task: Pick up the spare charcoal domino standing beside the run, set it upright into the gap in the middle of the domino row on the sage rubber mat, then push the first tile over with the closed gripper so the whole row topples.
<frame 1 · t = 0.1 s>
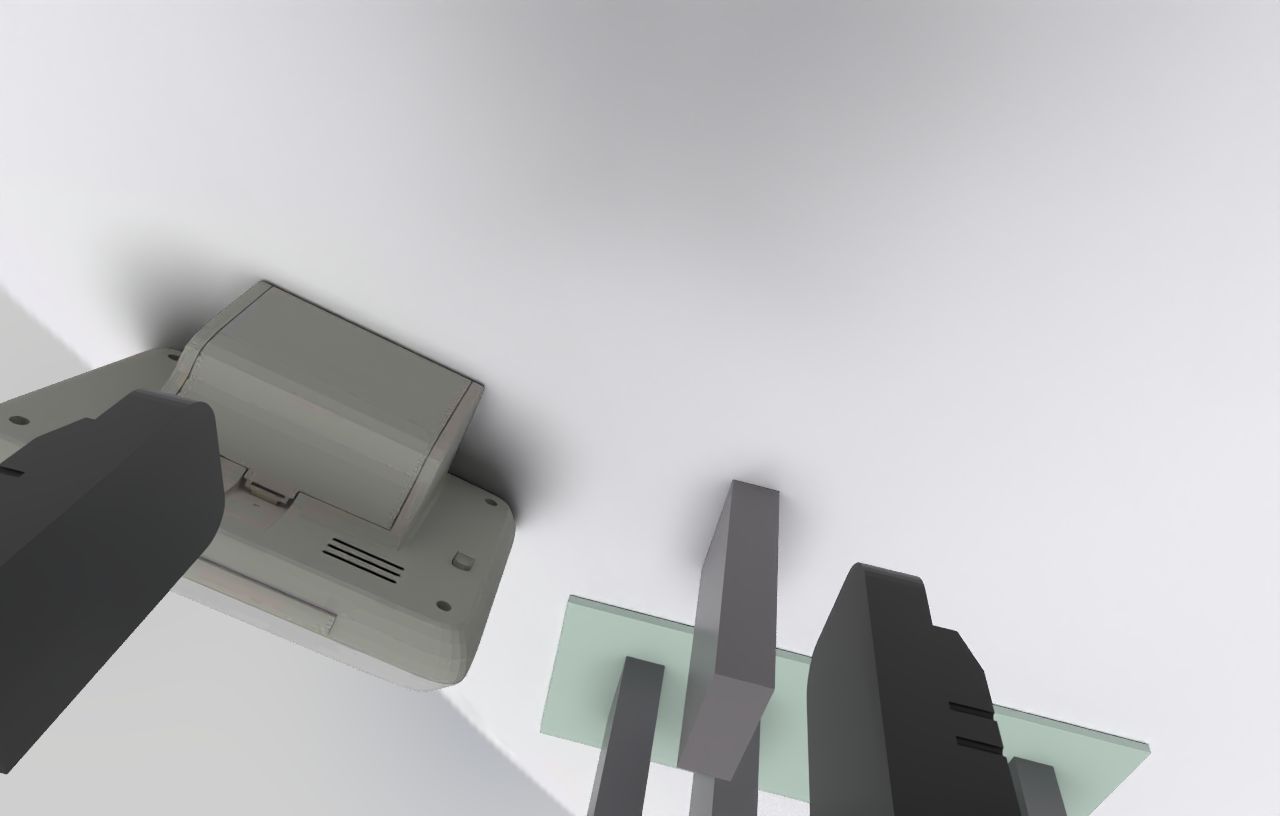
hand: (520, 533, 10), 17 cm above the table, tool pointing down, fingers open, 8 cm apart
digital clock: (353, 408, 32), on the table
mat: (821, 734, 39), on the table
domino 1: (635, 693, 39), resting on mat
domino 2: (728, 717, 38), resting on mat
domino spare: (738, 532, 33), on the table
domino 5: (1008, 790, 38), resting on mat
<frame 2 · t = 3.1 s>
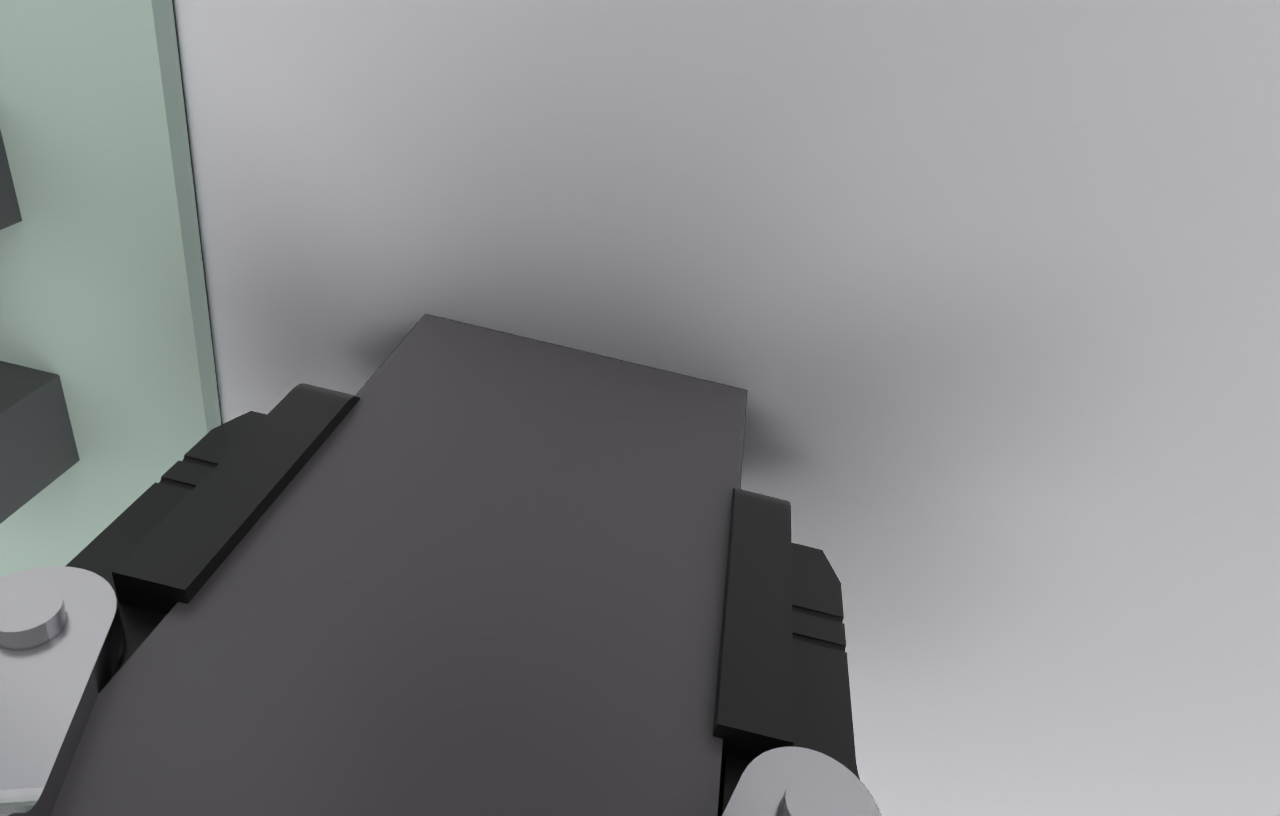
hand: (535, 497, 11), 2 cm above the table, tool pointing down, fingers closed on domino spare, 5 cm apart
mat: (10, 557, 17), on the table
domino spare: (577, 401, 13), on the table, touching gripper
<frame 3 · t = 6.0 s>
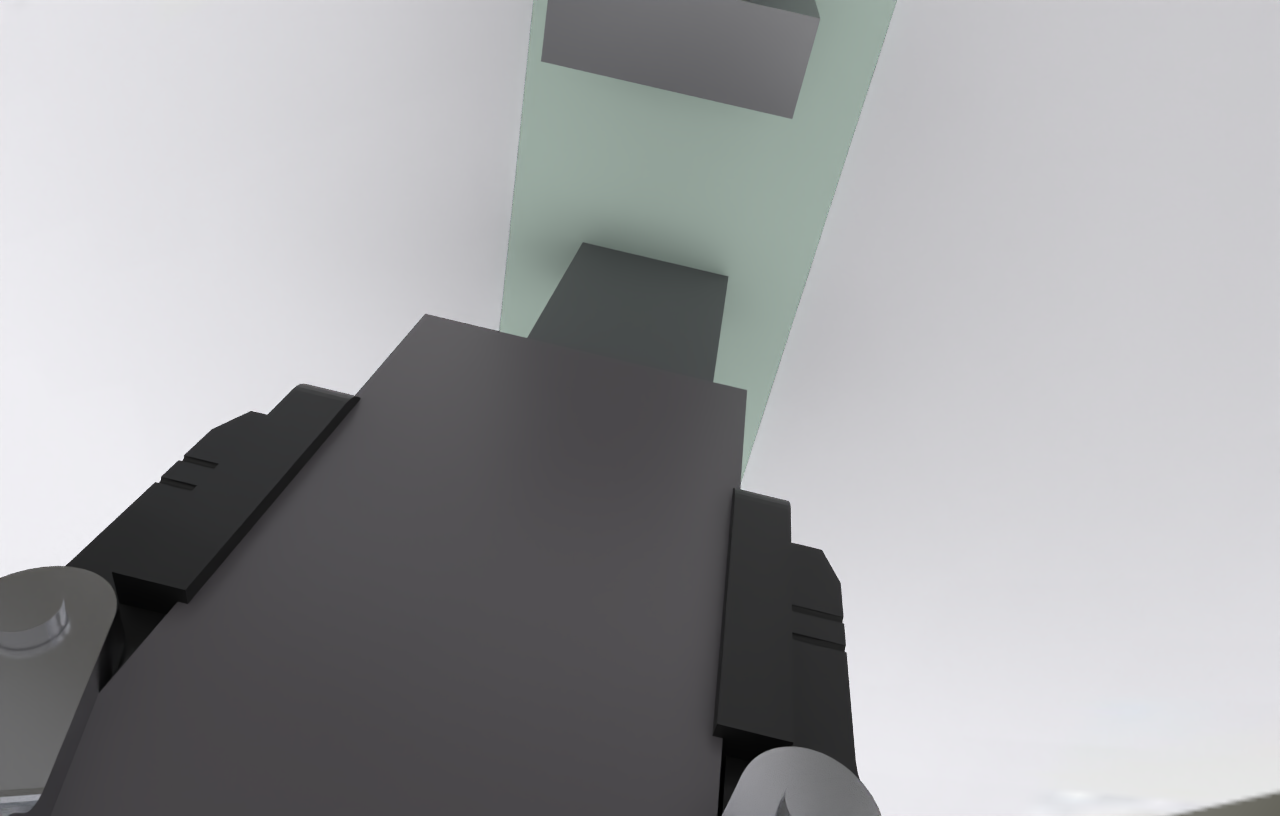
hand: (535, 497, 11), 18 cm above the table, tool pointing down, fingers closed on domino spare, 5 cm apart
domino 4: (650, 283, 28), resting on mat
mat: (679, 149, 26), on the table
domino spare: (577, 401, 13), point 15 cm above the table, touching gripper
when the fingers open (3 cm above the table, at t = 8.9 s): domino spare stays where it is, resting on mat.
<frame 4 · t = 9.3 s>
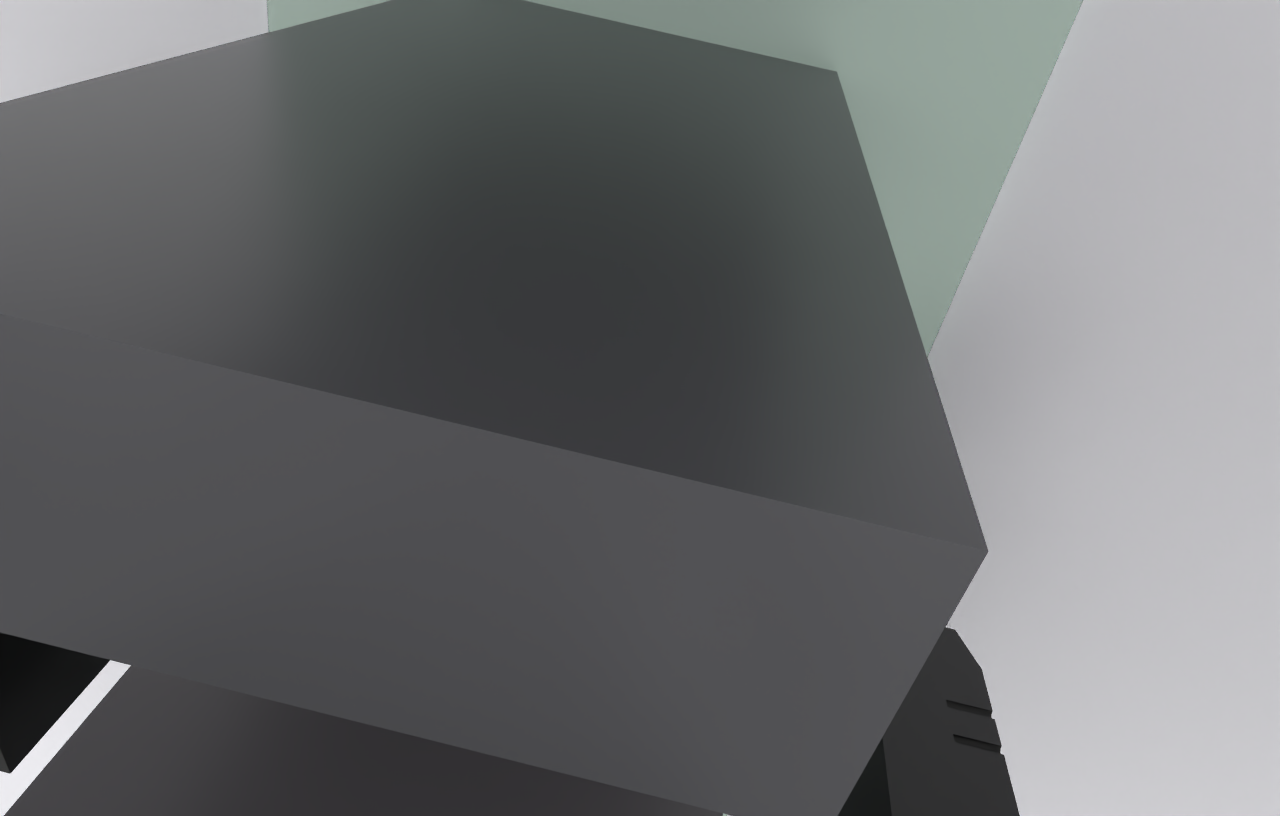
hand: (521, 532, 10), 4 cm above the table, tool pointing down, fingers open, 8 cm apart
mat: (586, 372, 14), on the table
domino 2: (631, 100, 11), resting on mat
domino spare: (586, 385, 13), resting on mat
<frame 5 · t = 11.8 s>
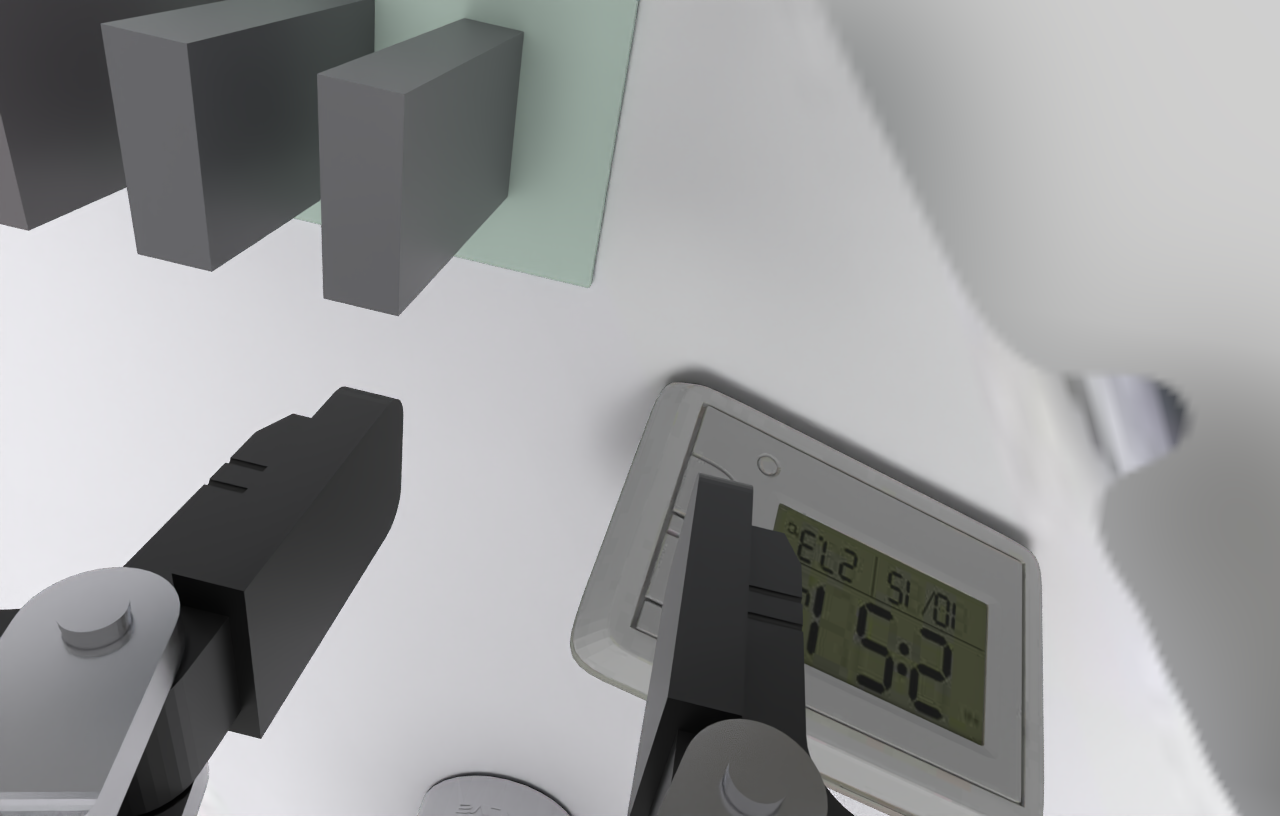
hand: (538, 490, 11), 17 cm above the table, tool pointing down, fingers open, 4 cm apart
digital clock: (825, 499, 32), on the table
mat: (213, 44, 26), on the table
domino 1: (487, 112, 25), resting on mat
domino 2: (346, 79, 25), resting on mat
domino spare: (206, 49, 25), resting on mat
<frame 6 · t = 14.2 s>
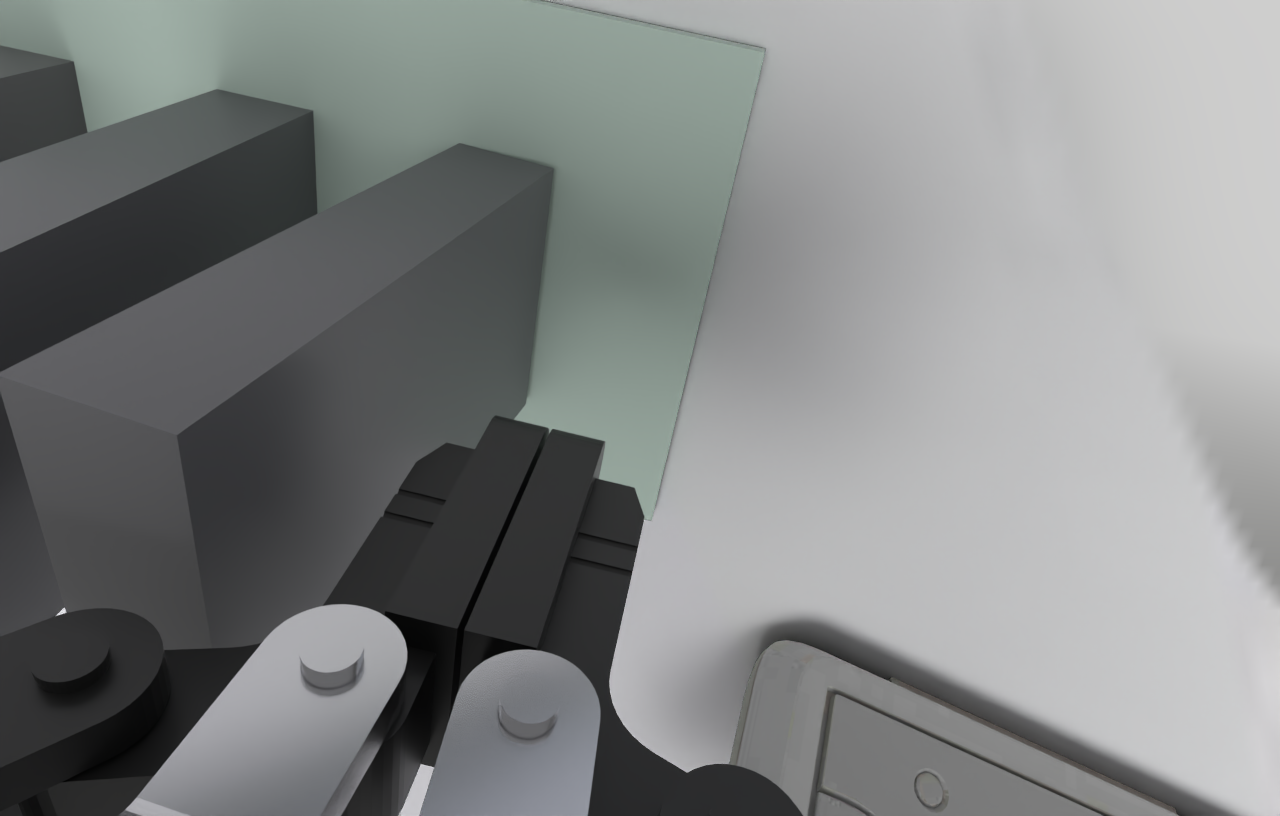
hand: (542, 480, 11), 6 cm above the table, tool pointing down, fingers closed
digital clock: (982, 775, 22), on the table
mat: (69, 175, 16), on the table
domino 1: (495, 283, 16), point 1 cm above the table, tilted 7°, touching gripper, mat
domino 2: (274, 230, 16), resting on mat
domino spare: (56, 184, 16), resting on mat
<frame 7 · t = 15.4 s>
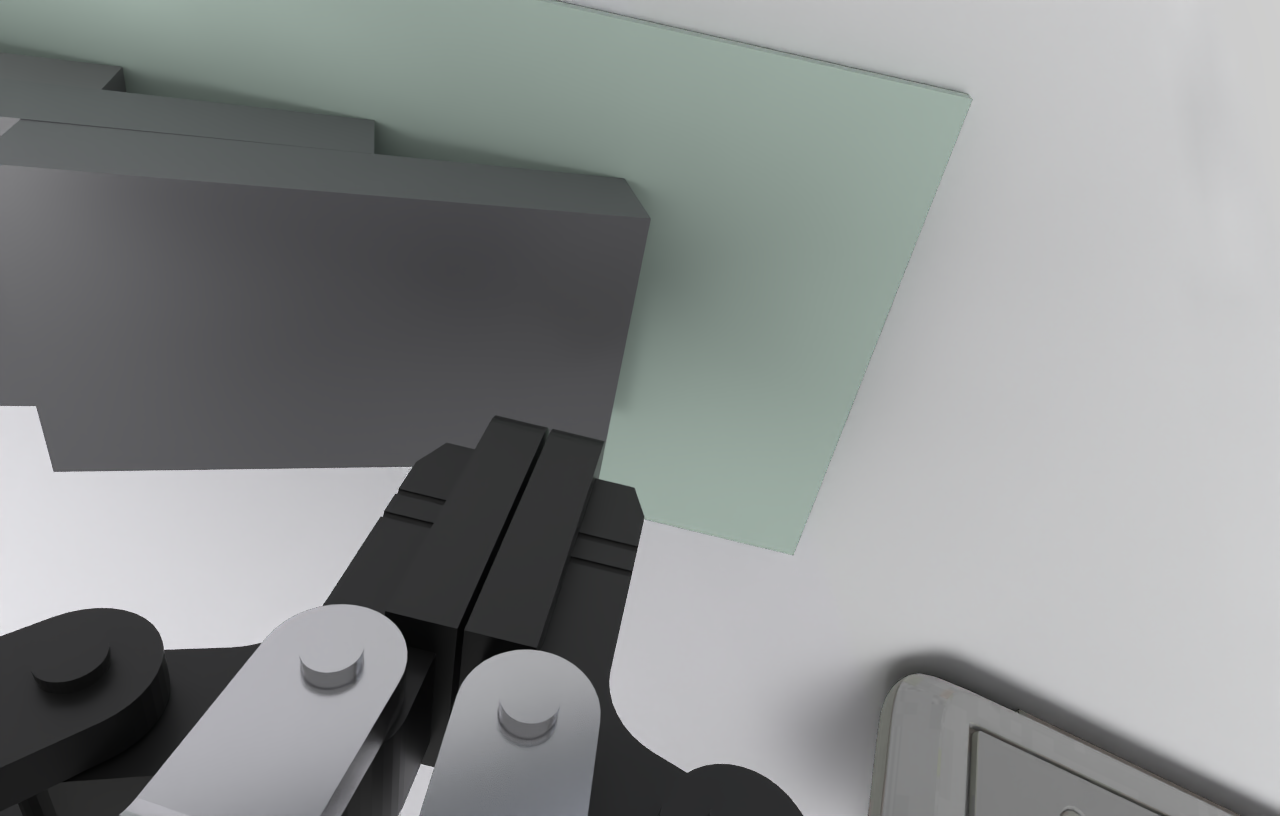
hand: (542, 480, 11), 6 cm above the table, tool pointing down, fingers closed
digital clock: (1097, 806, 22), on the table
mat: (227, 206, 16), on the table
domino 1: (612, 327, 15), point 1 cm above the table, tilted 67°, touching domino 2, mat
domino 2: (373, 270, 15), point 1 cm above the table, tilted 67°, touching domino 1, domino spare, mat
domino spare: (132, 218, 15), point 1 cm above the table, tilted 67°, touching domino 2, domino 4
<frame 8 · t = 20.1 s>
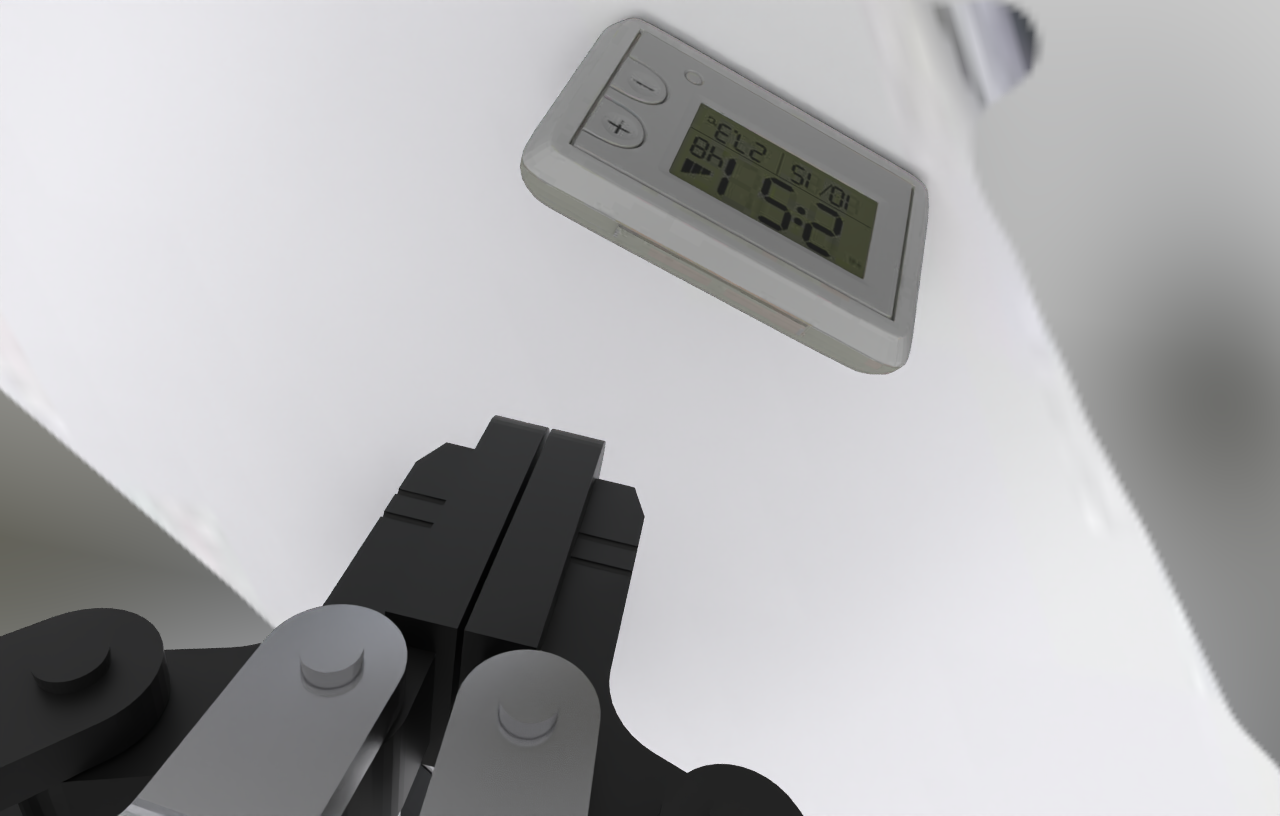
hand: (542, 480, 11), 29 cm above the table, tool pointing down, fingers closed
digital clock: (750, 152, 37), on the table
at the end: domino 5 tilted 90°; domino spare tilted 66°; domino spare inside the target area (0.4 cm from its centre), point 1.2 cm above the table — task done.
